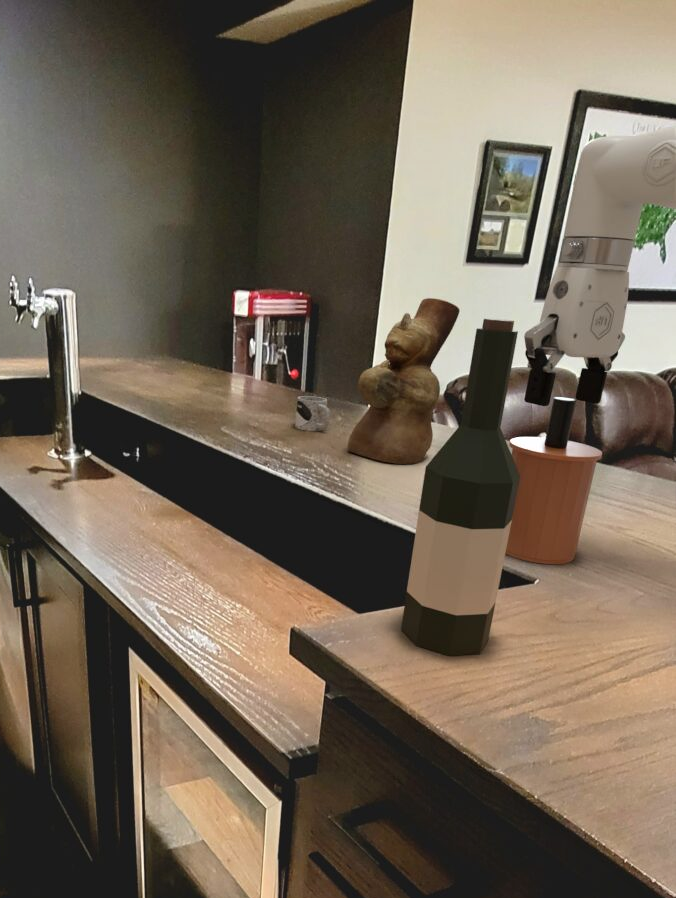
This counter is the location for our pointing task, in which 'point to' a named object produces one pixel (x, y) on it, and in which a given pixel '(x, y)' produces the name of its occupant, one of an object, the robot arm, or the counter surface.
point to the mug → (312, 413)
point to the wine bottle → (466, 512)
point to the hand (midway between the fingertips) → (562, 402)
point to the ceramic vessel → (404, 388)
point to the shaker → (548, 508)
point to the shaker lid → (557, 437)
